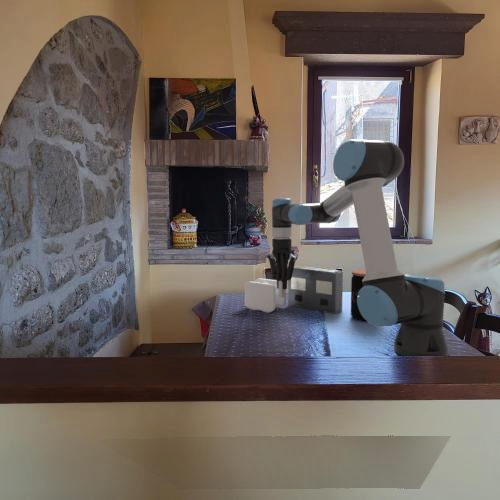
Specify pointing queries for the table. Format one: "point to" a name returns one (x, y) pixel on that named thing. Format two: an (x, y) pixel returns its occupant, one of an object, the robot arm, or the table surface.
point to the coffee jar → (356, 293)
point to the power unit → (316, 289)
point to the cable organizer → (263, 295)
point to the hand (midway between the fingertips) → (281, 296)
